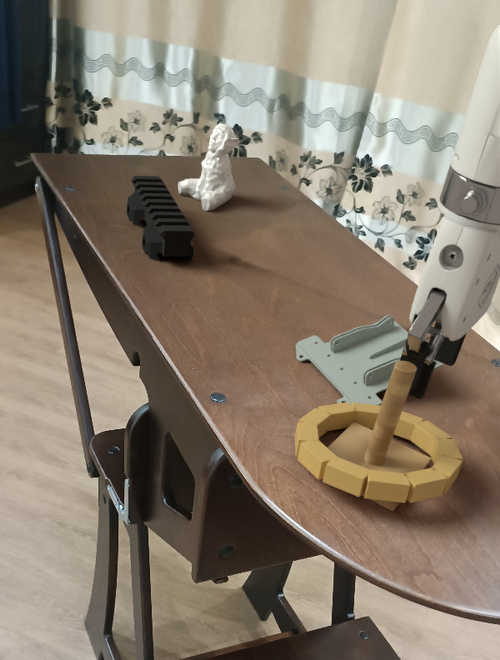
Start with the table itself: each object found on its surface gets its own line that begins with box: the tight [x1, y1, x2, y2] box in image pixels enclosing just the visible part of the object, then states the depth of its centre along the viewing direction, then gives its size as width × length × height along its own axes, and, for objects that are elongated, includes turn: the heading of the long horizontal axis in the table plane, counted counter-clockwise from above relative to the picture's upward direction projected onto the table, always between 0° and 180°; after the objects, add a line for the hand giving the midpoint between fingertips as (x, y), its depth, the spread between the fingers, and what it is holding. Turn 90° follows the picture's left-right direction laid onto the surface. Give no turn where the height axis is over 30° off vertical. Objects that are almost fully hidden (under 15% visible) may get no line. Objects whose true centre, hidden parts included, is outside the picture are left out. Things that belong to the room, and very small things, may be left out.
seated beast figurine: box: [177, 122, 240, 212], centre depth 119 cm, size 10×9×12 cm
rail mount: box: [126, 175, 196, 263], centre depth 107 cm, size 21×6×5 cm, turn 16°
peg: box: [327, 361, 432, 512], centre depth 68 cm, size 9×9×12 cm
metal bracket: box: [295, 314, 444, 406], centre depth 85 cm, size 14×6×15 cm
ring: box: [294, 402, 464, 504], centre depth 71 cm, size 16×16×2 cm
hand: (424, 375), depth 72 cm, fingers open, 7 cm apart
